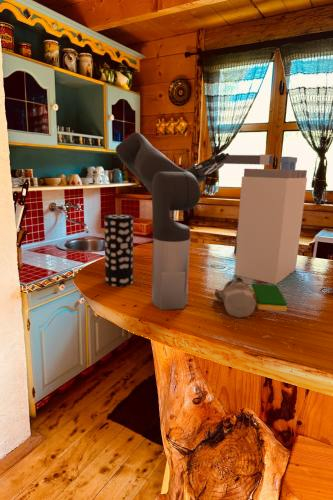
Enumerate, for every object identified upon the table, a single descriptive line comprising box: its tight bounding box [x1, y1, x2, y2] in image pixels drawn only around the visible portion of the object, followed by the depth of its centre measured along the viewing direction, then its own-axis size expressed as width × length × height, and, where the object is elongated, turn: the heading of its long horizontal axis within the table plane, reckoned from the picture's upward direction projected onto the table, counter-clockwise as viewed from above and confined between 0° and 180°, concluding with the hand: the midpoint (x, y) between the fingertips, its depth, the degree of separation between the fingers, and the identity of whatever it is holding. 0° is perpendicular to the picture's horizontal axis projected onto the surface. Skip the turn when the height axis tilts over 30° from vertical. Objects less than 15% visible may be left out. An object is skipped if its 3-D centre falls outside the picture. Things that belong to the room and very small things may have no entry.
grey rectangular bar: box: [211, 154, 274, 166], centre depth 120 cm, size 22×3×3 cm, turn 53°
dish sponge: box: [250, 283, 288, 312], centre depth 92 cm, size 7×14×2 cm, turn 173°
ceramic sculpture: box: [214, 277, 257, 318], centre depth 85 cm, size 11×9×15 cm
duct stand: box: [233, 156, 308, 285], centre depth 112 cm, size 14×20×38 cm
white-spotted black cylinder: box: [103, 214, 134, 287], centre depth 100 cm, size 8×8×20 cm
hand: (226, 155), depth 123 cm, fingers closed on grey rectangular bar, 3 cm apart
